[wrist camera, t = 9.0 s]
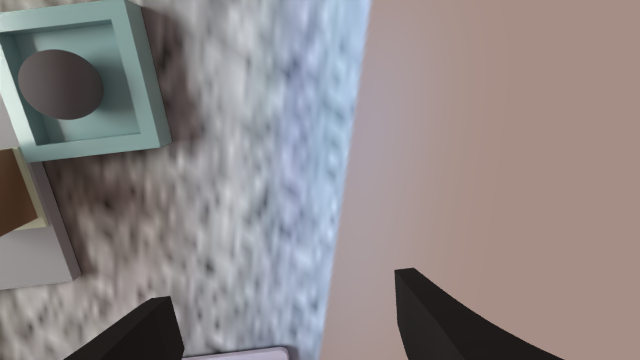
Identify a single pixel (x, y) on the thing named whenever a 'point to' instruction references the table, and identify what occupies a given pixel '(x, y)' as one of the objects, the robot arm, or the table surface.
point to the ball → (60, 84)
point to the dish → (110, 62)
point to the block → (13, 195)
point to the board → (34, 228)
